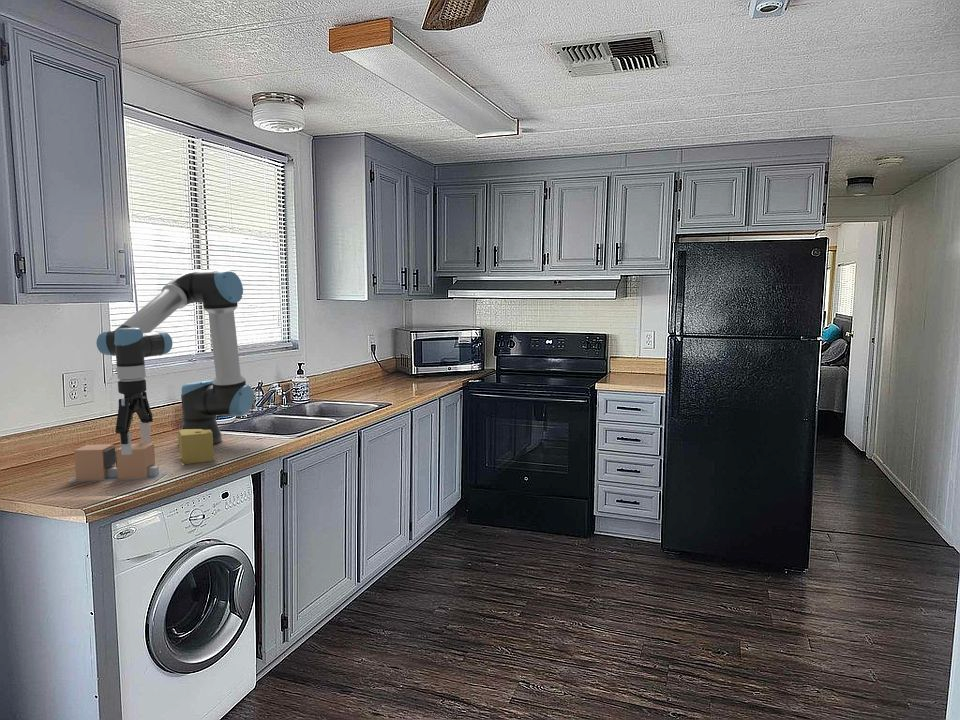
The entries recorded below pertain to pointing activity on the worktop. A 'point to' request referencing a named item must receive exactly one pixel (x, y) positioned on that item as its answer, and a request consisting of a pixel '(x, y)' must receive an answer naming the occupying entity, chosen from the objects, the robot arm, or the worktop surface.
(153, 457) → the block
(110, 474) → the rail
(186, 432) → the cheese
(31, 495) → the worktop surface
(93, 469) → the block
